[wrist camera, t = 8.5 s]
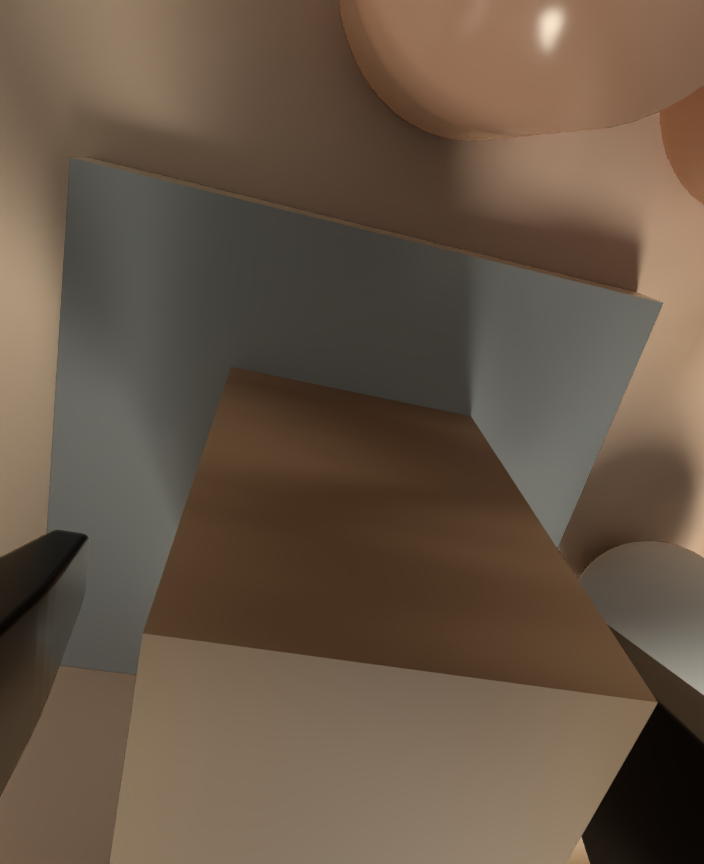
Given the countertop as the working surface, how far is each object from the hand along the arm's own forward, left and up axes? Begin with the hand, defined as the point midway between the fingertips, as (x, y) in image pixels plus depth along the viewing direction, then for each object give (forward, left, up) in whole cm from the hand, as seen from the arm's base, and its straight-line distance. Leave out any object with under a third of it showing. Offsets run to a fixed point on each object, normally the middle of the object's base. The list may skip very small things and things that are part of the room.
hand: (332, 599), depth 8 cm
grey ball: (-1, -6, -4) cm, 7 cm away
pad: (0, 0, -4) cm, 4 cm away
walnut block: (0, 0, -3) cm, 3 cm away
